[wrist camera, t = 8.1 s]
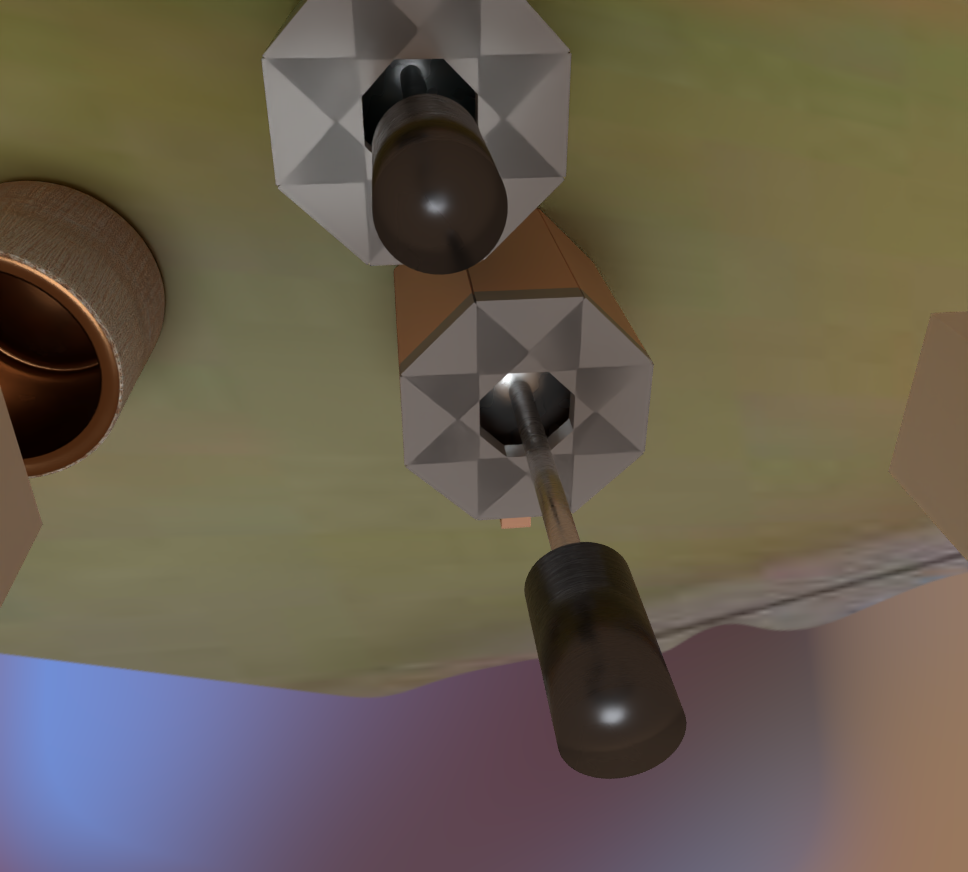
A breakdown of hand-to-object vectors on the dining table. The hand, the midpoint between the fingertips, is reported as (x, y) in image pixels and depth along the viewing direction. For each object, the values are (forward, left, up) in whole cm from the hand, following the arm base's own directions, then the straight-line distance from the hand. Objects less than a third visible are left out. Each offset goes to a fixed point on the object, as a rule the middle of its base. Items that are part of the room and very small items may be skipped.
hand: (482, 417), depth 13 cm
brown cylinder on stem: (+12, +4, -24) cm, 28 cm away
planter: (+10, -18, -34) cm, 40 cm away
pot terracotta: (+14, +4, -34) cm, 37 cm away
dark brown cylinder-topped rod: (0, 0, -31) cm, 31 cm away
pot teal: (-1, 0, -34) cm, 34 cm away
